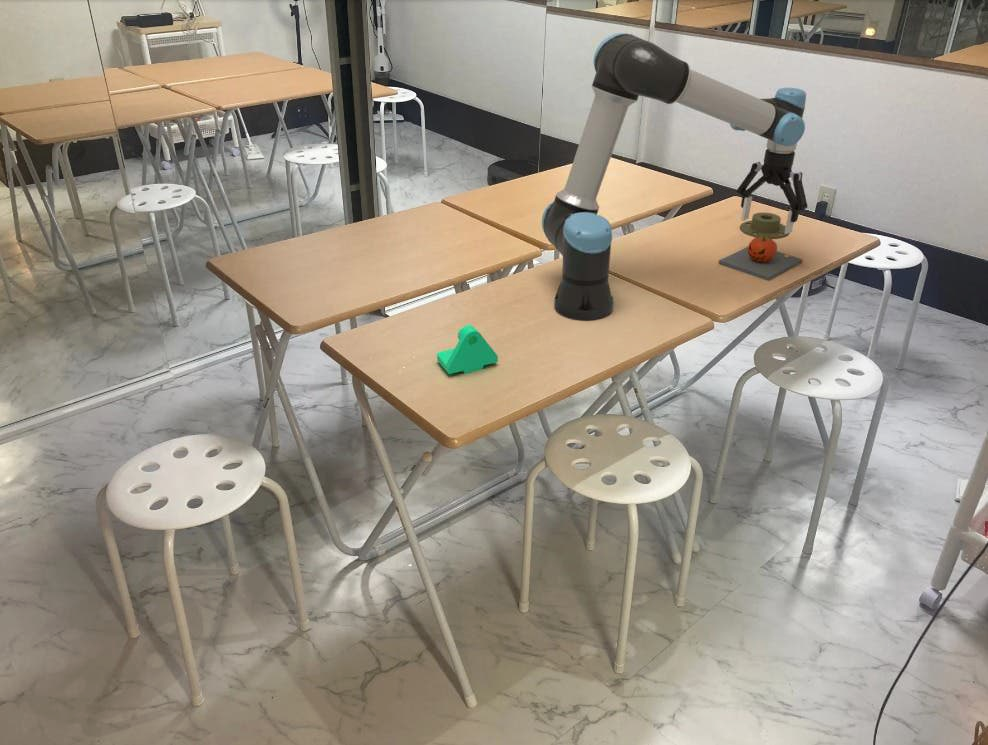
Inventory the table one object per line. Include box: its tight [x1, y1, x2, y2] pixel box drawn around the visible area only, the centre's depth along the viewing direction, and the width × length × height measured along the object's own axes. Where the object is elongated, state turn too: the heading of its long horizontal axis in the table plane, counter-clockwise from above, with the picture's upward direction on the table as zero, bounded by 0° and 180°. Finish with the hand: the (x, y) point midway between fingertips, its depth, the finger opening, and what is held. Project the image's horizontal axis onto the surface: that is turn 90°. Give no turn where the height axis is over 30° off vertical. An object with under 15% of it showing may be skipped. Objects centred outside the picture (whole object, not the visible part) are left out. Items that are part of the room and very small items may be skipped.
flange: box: [739, 212, 790, 240], centre depth 250 cm, size 5×15×15 cm
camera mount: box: [436, 324, 499, 375], centre depth 179 cm, size 12×8×10 cm, turn 116°
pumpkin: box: [747, 236, 778, 262], centre depth 226 cm, size 8×8×7 cm
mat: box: [718, 246, 804, 281], centre depth 228 cm, size 18×16×1 cm
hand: (765, 225), depth 223 cm, fingers open, 13 cm apart
